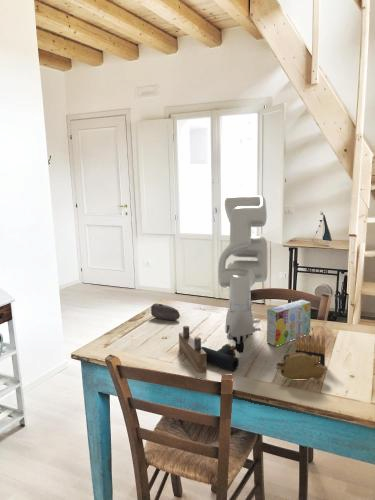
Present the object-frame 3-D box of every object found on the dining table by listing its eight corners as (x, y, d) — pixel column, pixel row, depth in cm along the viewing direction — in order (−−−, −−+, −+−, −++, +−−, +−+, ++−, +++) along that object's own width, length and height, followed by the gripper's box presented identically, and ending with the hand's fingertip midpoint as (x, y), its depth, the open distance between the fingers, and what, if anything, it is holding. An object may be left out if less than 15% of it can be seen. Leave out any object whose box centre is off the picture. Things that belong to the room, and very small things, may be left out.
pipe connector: (215, 338, 161) (248, 348, 151) (215, 351, 162) (248, 361, 152) (197, 349, 152) (231, 360, 143) (197, 362, 153) (231, 374, 144)
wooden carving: (321, 375, 141) (322, 348, 139) (325, 382, 137) (327, 354, 135) (274, 376, 141) (275, 349, 139) (277, 383, 136) (278, 355, 135)
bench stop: (186, 348, 164) (185, 322, 162) (206, 371, 145) (206, 342, 143) (179, 349, 163) (178, 323, 161) (198, 373, 144) (198, 344, 142)
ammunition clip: (294, 362, 151) (295, 332, 148) (294, 360, 152) (295, 330, 150) (324, 367, 147) (326, 336, 145) (324, 365, 149) (326, 334, 146)
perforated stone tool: (182, 319, 196) (182, 305, 195) (177, 323, 192) (176, 309, 190) (155, 315, 203) (155, 301, 202) (150, 318, 199) (149, 305, 197)
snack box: (300, 331, 180) (301, 298, 177) (310, 335, 175) (312, 302, 173) (266, 343, 168) (266, 308, 165) (275, 347, 164) (277, 312, 161)
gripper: (251, 300, 159) (250, 344, 163) (217, 306, 153) (217, 351, 157) (262, 306, 152) (261, 351, 156) (227, 312, 147) (227, 359, 150)
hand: (239, 351), depth 156 cm, fingers closed
